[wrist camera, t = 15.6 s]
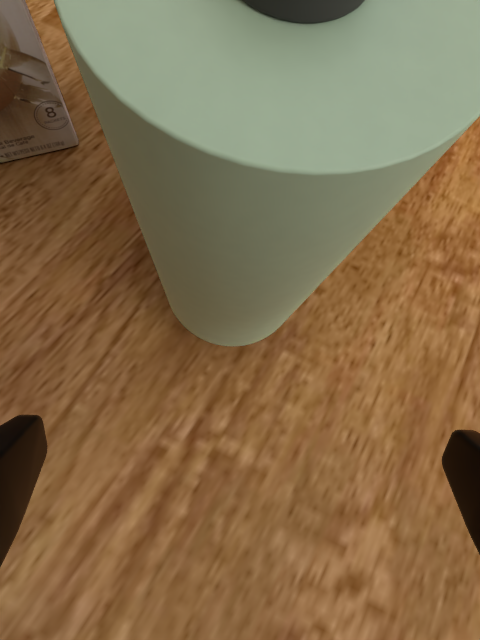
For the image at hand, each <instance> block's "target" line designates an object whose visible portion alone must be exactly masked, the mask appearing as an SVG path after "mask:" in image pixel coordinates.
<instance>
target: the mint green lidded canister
mask: <svg viewBox="0 0 480 640" xmlns="http://www.w3.org/2000/svg"><path fill="white" fill-rule="evenodd" d="M54 3H55V6H56V8H57V11H58V14H59V17H60V20H61V23H62V26H63V28H64V31H65V34H66V36H67V39H68V41H69V44H70V47H71V49H72V52H73V54H74V57H75V60H76V62H77V65H78V67H79V70H80V73H81V75H82V78H83V80H84V83H85V86H86V88H87V91H88V93H89V96H90V99H91V101H92V104H93V106H94V109H95V112H96V114H97V117H98V119H99V122H100V125H101V127H102V130H103V132H104V135H105V138H106V140H107V143H108V145H109V148H110V151H111V153H112V156H113V158H114V161H115V164H116V166H117V169H118V171H119V174H120V177H121V179H122V182H123V184H124V187H125V190H126V192H127V195H128V197H129V200H130V203H131V205H132V208H133V210H134V213H135V216H136V218H137V221H138V223H139V226H140V229H141V231H142V234H143V236H144V239H145V242H146V244H147V247H148V249H149V252H150V255H151V257H152V260H153V262H154V265H155V268H156V270H157V273H158V275H159V278H160V281H161V283H162V286H163V288H164V291H165V294H166V296H167V299H168V301H169V304H170V307H171V309H172V311H173V312H174V314H175V316H176V317H177V319H178V320H179V321H180V323H181V324H182V325H183V326H184V327H185V328H186V329H187V330H189V331H190V332H191V333H192V334H194V335H195V336H197V337H199V338H200V339H203V340H205V341H207V342H210V343H213V344H216V345H222V346H244V345H248V344H252V343H255V342H258V341H260V340H262V339H264V338H266V337H268V336H269V335H271V334H272V333H273V332H275V331H276V330H277V329H278V328H279V327H280V326H281V325H282V324H283V323H284V322H285V321H286V320H287V319H288V318H289V317H290V315H291V314H292V313H293V312H294V311H295V310H296V309H297V308H298V307H299V306H300V305H301V304H302V303H303V302H304V301H305V300H306V299H307V298H308V296H309V295H310V294H311V293H312V292H313V291H314V290H315V289H316V288H317V287H318V286H319V285H320V284H321V283H322V282H323V281H324V280H325V279H326V278H327V276H328V275H329V274H330V273H331V272H332V271H333V270H334V269H335V268H336V267H337V266H338V265H339V264H340V263H341V262H342V261H343V260H344V259H345V257H346V256H347V255H348V254H349V253H350V252H351V251H352V250H353V249H354V248H355V247H356V246H357V245H358V244H359V243H360V242H361V241H362V240H363V238H364V237H365V236H366V235H367V234H368V233H369V232H370V231H371V230H372V229H373V228H374V227H375V226H376V225H377V224H378V223H379V222H380V221H381V220H382V218H383V217H384V216H385V215H386V214H387V213H388V212H389V211H390V210H391V209H392V208H393V207H394V206H395V205H396V204H397V203H398V202H399V201H400V199H401V198H402V197H403V196H404V195H405V194H406V193H407V192H408V191H409V190H410V189H411V188H412V187H413V186H414V185H415V184H416V183H417V182H418V180H419V179H420V178H421V177H422V176H423V175H424V174H425V173H426V172H427V171H428V170H429V169H430V168H431V167H432V166H433V165H434V164H435V163H436V161H437V160H438V159H439V158H440V157H441V156H442V155H443V154H444V153H445V152H446V151H447V150H448V149H449V148H450V147H451V146H452V145H453V144H454V143H455V141H456V140H457V139H458V138H459V137H460V136H461V135H462V134H463V133H464V132H465V131H466V130H467V129H468V128H469V127H470V126H471V125H472V124H473V122H474V121H475V120H476V119H477V118H478V117H479V116H480V0H54Z"/></svg>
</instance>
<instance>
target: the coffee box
mask: <svg viewBox="0 0 480 640" xmlns="http://www.w3.org/2000/svg"><path fill="white" fill-rule="evenodd" d="M78 143H79V142H78V138H77V135H76V132H75V130H74V127H73V124H72V122H71V119H70V116H69V113H68V111H67V108H66V105H65V102H64V99H63V97H62V94H61V91H60V89H59V86H58V84H57V81H56V78H55V76H54V73H53V70H52V68H51V65H50V63H49V60H48V58H47V55H46V53H45V50H44V47H43V45H42V42H41V39H40V37H39V34H38V32H37V29H36V27H35V25H34V22H33V19H32V17H31V14H30V12H29V9H28V7H27V4H26V2H25V0H0V163H2V162H6V161H11V160H15V159H19V158H24V157H29V156H33V155H38V154H42V153H46V152H51V151H55V150H59V149H64V148H68V147H72V146H75V145H78Z"/></svg>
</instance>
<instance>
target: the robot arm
mask: <svg viewBox="0 0 480 640" xmlns="http://www.w3.org/2000/svg"><path fill="white" fill-rule="evenodd" d="M46 454H47V441H46V436H45V430H44V425H43V421H42V418H41V417H40V416H38V415H18V416H16V417H14V418H13V419H11V420H9V421H8V422H6V423H4V424H3V425H1V426H0V567H1V565H2V563H3V561H4V559H5V557H6V555H7V553H8V551H9V548H10V546H11V544H12V542H13V540H14V538H15V536H16V534H17V532H18V529H19V527H20V524H21V522H22V519H23V517H24V514H25V512H26V509H27V506H28V503H29V501H30V498H31V495H32V493H33V490H34V487H35V484H36V482H37V479H38V476H39V474H40V471H41V468H42V466H43V463H44V460H45V457H46ZM442 465H443V469H444V471H445V474H446V476H447V479H448V481H449V484H450V486H451V489H452V491H453V494H454V497H455V499H456V502H457V504H458V507H459V509H460V512H461V514H462V517H463V519H464V522H465V524H466V526H467V529H468V531H469V533H470V536H471V538H472V540H473V542H474V544H475V546H476V548H477V550H478V552H479V554H480V433H478V432H476V431H473V430H455V431H454V432H453V433H452V434H451V437H450V439H449V441H448V444H447V446H446V449H445V451H444V453H443V456H442Z"/></svg>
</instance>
